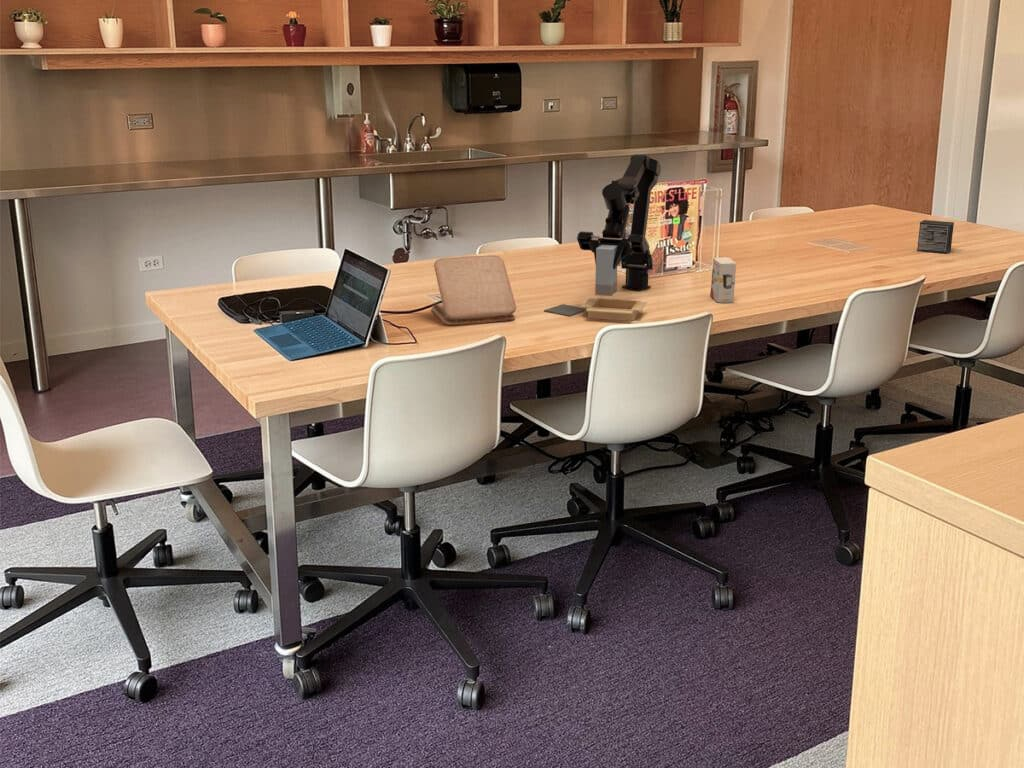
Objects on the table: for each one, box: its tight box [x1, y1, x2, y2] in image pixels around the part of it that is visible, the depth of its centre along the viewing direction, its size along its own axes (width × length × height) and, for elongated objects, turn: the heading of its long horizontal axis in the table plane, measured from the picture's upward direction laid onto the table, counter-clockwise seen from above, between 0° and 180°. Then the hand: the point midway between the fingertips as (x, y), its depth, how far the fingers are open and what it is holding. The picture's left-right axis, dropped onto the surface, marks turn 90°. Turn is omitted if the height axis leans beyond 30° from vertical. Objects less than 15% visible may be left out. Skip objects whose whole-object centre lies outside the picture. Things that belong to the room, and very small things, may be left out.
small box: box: [916, 219, 955, 255], centre depth 394 cm, size 11×6×10 cm, turn 58°
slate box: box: [594, 245, 618, 297], centre depth 310 cm, size 6×4×13 cm
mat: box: [543, 303, 587, 317], centre depth 317 cm, size 9×9×1 cm
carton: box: [581, 297, 648, 322], centre depth 313 cm, size 18×17×3 cm
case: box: [431, 254, 517, 326], centre depth 311 cm, size 20×21×16 cm
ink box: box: [709, 256, 737, 304], centre depth 327 cm, size 9×5×12 cm, turn 6°
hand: (605, 267), depth 308 cm, fingers closed on slate box, 4 cm apart
